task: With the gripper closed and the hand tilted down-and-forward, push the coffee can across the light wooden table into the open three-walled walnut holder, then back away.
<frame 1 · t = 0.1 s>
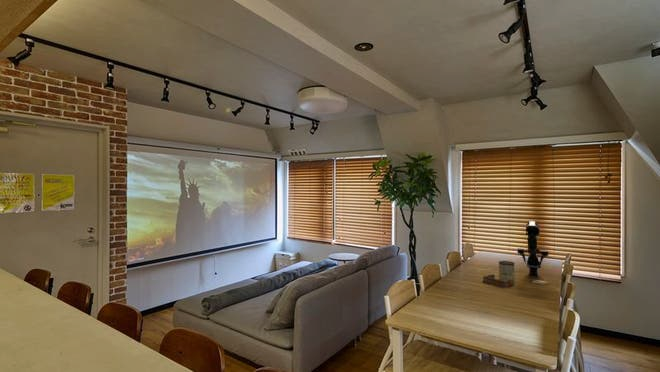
hand: (532, 263, 231), 15 cm above the table, tool pointing down, fingers open, 9 cm apart
walnut holder: (500, 282, 236), on the table
coffee can: (506, 281, 239), on the table
cork mat: (539, 282, 234), on the table
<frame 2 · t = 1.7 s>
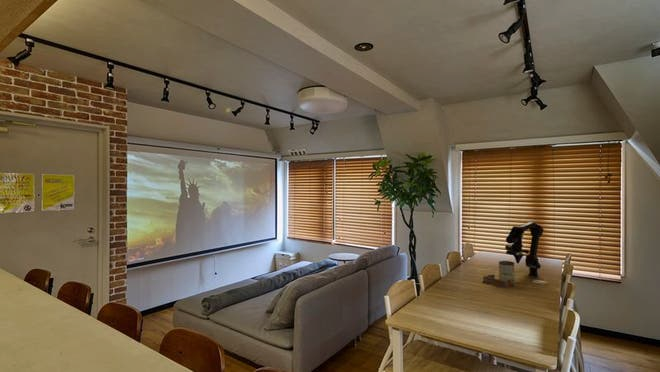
hand: (517, 263, 246), 12 cm above the table, tool pointing down, fingers closed
nothing on the table moved.
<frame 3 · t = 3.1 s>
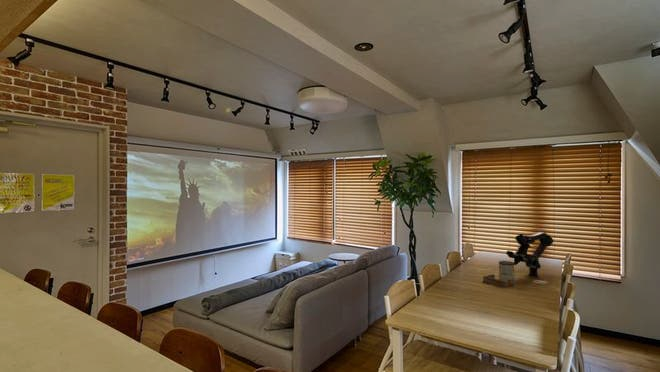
hand: (514, 264, 244), 11 cm above the table, tool tilted 45°, fingers closed
nothing on the table moved.
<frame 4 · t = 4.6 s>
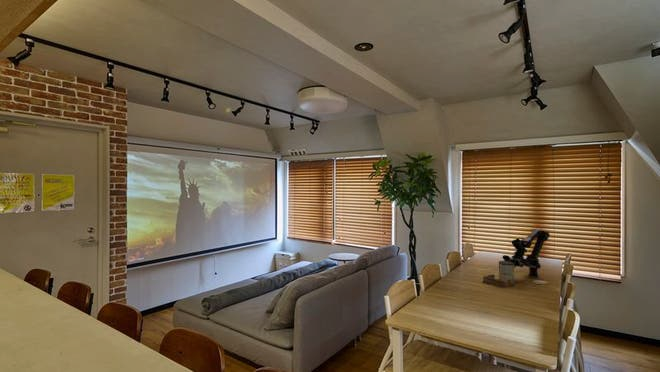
hand: (511, 269, 242), 8 cm above the table, tool tilted 45°, fingers closed, pressing on coffee can
coffee can: (506, 281, 239), on the table, touching gripper
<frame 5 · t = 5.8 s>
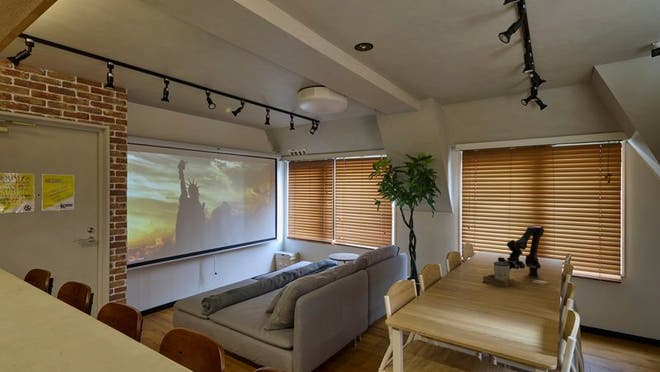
hand: (506, 271, 239), 7 cm above the table, tool tilted 45°, fingers closed, pressing on coffee can
coffee can: (502, 282, 237), on the table, touching gripper
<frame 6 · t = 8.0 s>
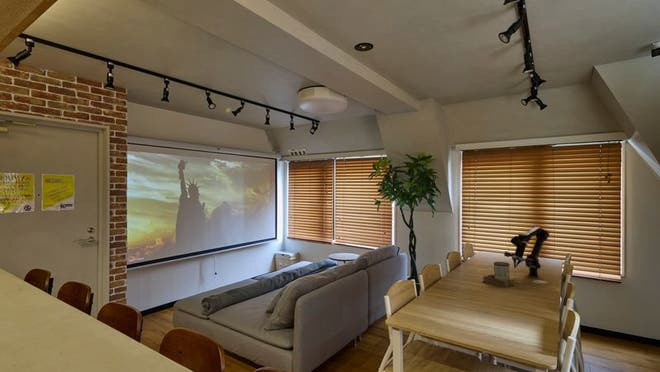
hand: (514, 268, 244), 9 cm above the table, tool tilted 30°, fingers closed
coffee can: (501, 282, 237), on the table
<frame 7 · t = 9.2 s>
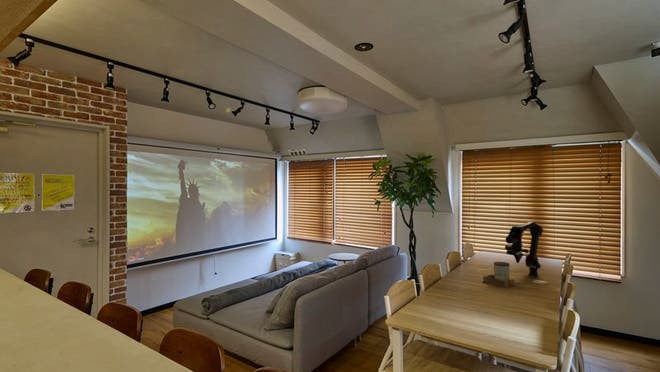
hand: (517, 262, 246), 12 cm above the table, tool pointing down, fingers closed
nothing on the table moved.
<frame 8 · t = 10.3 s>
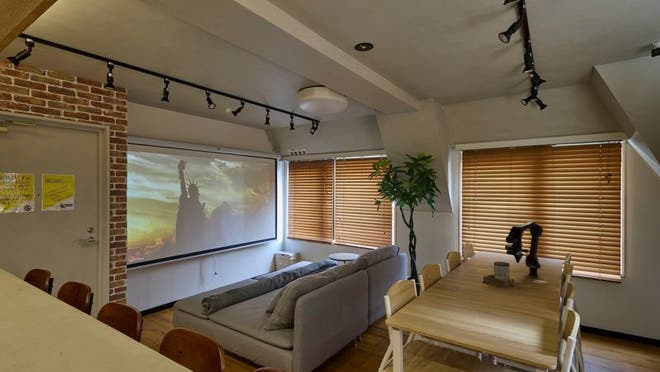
hand: (517, 262, 246), 12 cm above the table, tool pointing down, fingers closed
nothing on the table moved.
at the end: coffee can 1.8 cm from the walnut holder (horizontally); coffee can tilted 0°; coffee can moved 5.7 cm from its start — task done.
